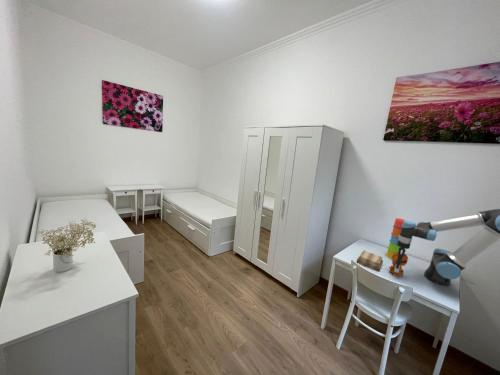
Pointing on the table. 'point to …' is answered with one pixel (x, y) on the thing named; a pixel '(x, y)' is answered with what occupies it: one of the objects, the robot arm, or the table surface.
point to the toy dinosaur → (403, 263)
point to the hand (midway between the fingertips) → (397, 269)
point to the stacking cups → (394, 238)
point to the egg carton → (370, 260)
